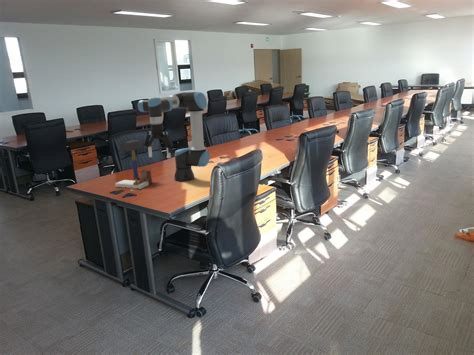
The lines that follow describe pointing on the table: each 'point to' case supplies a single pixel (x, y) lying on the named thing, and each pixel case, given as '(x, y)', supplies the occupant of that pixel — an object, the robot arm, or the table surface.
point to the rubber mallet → (133, 154)
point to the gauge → (144, 177)
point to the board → (131, 184)
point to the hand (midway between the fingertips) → (159, 157)
